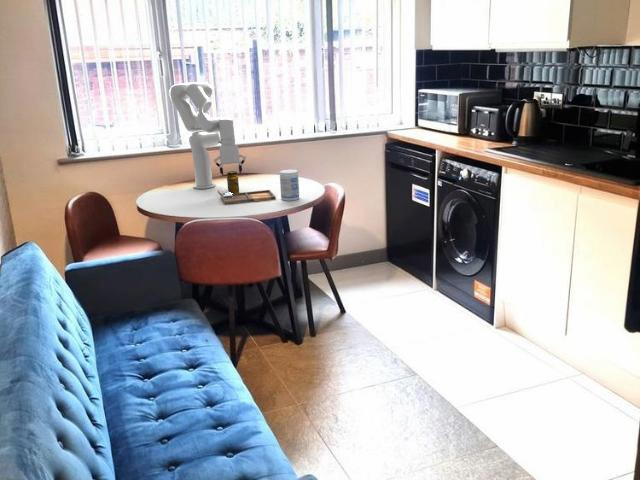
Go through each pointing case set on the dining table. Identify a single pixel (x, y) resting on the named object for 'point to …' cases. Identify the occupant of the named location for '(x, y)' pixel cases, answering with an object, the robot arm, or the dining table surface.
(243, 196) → the divided wooden tray
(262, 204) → the dining table surface
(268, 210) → the dining table surface
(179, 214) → the dining table surface
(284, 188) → the supplement tub
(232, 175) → the condiment
